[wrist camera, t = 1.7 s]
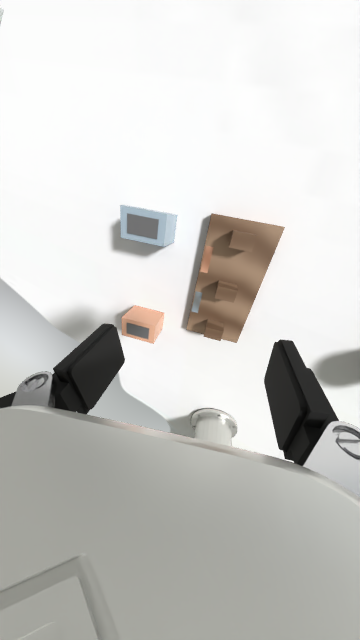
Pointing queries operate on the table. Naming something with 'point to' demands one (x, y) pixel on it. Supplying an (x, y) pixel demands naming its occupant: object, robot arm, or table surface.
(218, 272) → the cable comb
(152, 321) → the terracotta plug
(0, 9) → the small box
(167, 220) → the slate plug
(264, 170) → the table surface
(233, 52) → the table surface
